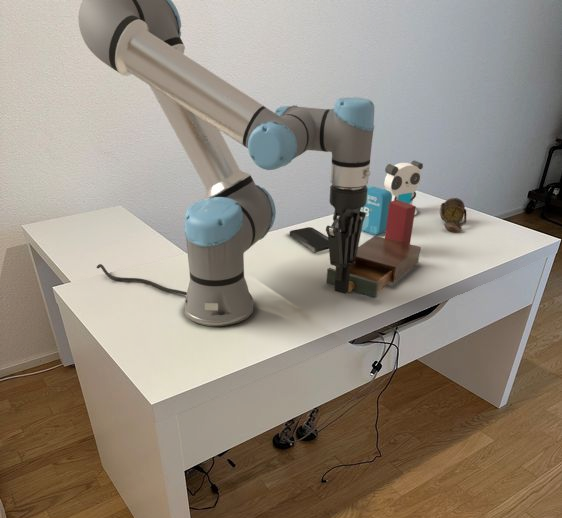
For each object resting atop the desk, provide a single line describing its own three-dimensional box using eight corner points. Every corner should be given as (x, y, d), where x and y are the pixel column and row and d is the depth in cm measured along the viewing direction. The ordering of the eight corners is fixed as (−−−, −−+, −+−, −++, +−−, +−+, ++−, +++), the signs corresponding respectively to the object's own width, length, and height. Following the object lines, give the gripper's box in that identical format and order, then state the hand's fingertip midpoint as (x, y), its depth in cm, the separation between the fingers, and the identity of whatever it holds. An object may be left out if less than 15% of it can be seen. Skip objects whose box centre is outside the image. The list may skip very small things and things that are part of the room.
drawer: (371, 304, 123) (374, 285, 120) (323, 289, 129) (324, 271, 126) (402, 277, 134) (405, 260, 132) (356, 265, 140) (358, 248, 138)
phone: (310, 226, 160) (339, 243, 149) (310, 230, 160) (339, 247, 150) (287, 231, 157) (315, 249, 146) (287, 235, 157) (315, 253, 147)
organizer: (392, 287, 131) (395, 267, 128) (345, 273, 137) (347, 254, 134) (417, 266, 141) (420, 246, 138) (372, 254, 147) (374, 235, 144)
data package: (346, 225, 164) (350, 185, 157) (356, 222, 167) (359, 182, 160) (378, 236, 157) (383, 195, 150) (387, 232, 160) (393, 191, 153)
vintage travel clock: (479, 204, 164) (449, 192, 167) (467, 212, 155) (436, 199, 158) (468, 226, 169) (439, 213, 172) (456, 235, 159) (426, 221, 162)
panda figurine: (393, 219, 169) (399, 170, 160) (373, 208, 177) (378, 161, 168) (424, 214, 173) (432, 165, 164) (403, 203, 181) (409, 157, 172)
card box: (383, 248, 150) (389, 201, 143) (391, 245, 152) (397, 199, 144) (400, 256, 146) (407, 208, 138) (408, 253, 148) (415, 206, 140)
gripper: (349, 196, 102) (341, 307, 116) (380, 180, 111) (369, 284, 124) (315, 189, 105) (311, 297, 119) (348, 174, 114) (341, 276, 128)
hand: (341, 291), depth 122 cm, fingers closed
